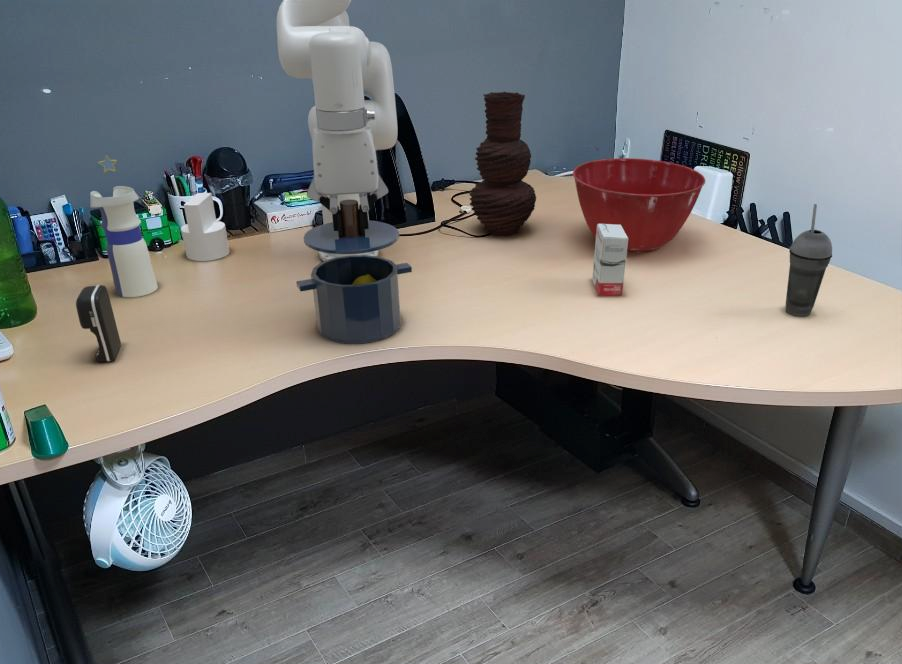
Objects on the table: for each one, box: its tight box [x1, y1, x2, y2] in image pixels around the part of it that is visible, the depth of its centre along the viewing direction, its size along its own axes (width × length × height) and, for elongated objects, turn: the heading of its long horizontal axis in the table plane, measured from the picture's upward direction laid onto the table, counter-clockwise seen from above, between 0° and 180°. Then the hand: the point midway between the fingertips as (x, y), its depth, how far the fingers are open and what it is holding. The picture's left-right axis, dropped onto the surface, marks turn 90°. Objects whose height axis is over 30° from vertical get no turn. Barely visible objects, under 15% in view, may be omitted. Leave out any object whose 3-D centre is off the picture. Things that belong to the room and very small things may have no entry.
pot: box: [295, 255, 413, 345], centre depth 140 cm, size 15×20×10 cm
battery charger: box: [75, 284, 122, 362], centre depth 130 cm, size 7×4×11 cm, turn 12°
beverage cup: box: [784, 203, 833, 318], centre depth 143 cm, size 7×7×20 cm
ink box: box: [591, 224, 628, 297], centre depth 155 cm, size 8×5×12 cm, turn 2°
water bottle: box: [89, 154, 159, 298], centre depth 150 cm, size 8×9×25 cm
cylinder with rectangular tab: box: [180, 192, 230, 262], centre depth 171 cm, size 9×9×12 cm
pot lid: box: [303, 200, 400, 254], centre depth 133 cm, size 16×16×7 cm
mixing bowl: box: [572, 157, 706, 254], centre depth 177 cm, size 28×28×16 cm
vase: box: [469, 91, 537, 236], centre depth 180 cm, size 15×15×30 cm
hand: (351, 233), depth 134 cm, fingers closed on pot lid, 3 cm apart
